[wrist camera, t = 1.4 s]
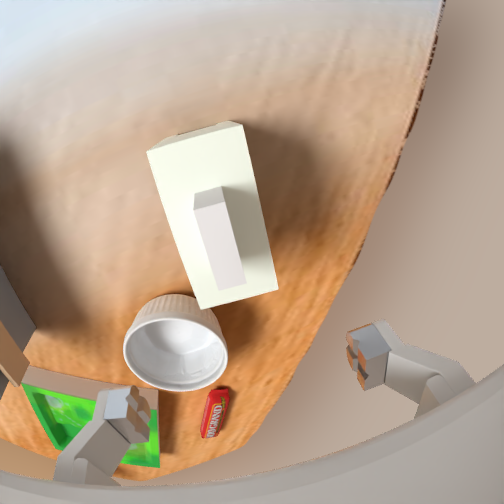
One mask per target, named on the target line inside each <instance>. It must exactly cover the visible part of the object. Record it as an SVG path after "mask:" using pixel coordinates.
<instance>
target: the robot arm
mask: <svg viewBox="0 0 504 504" xmlns="http://www.w3.org/2000/svg"><path fill="white" fill-rule="evenodd" d="M346 340H347V342H348V344H349V345H348V346H347V348H346V349H347V357H348V361H349V363H350V366H351V368H352V370H354V371H356V372H357V379H358V381H359V383H360V384H361V386H362V388H363V390H364V391H365V390H368V389H371V388H374V387H376V386H379V385H381V384H384V383H385V385H386V386H388V387H390V388H392V389H394V390H395V391H397V392H399V393H400V394H402V395H404V396H406V397H407V398H409V399H411V400H413V401H414V402H416V403H418V404H419V406H418V409H417V412H416V415H415V417H414V419H413V420H411V421H409V422H407V423H405V424H403V425H401V426H399V427H396V428H394V429H392V430H390V431H388V432H385V433H383V434H381V435H378V436H376V437H374V438H371V439H369V440H366V441H364V442H361V443H358V444H356V445H353V446H351V447H348V448H345V449H342V450H339V451H337V452H334V453H331V454H328V455H324V456H321V457H318V458H315V459H312V460H308V461H305V462H301V463H298V464H294V465H290V466H286V467H282V468H278V469H274V470H270V471H265V472H261V473H256V474H251V475H246V476H240V477H235V478H229V479H222V480H215V481H207V482H199V483H189V484H177V485H162V486H121V485H120V484H119V483H118V482H116V481H115V480H114V479H112V478H111V477H112V475H113V474H114V472H115V470H116V469H117V467H118V465H119V464H120V462H121V460H122V459H123V457H124V456H125V454H126V452H127V451H128V449H129V447H130V446H131V444H135V443H145V442H149V436H150V428H149V427H148V425H147V423H148V422H149V421H150V419H151V411H150V406H149V404H148V402H147V400H146V399H145V398H144V397H142V396H140V395H139V390H138V388H137V387H136V386H134V385H132V386H123V387H114V388H106V389H101V390H100V391H99V393H98V397H97V401H96V405H95V410H94V414H93V419H92V421H89V422H88V423H87V424H86V425H85V426H84V427H83V428H82V430H81V431H80V432H79V433H78V434H77V435H76V436H75V437H74V439H73V440H72V441H71V442H70V443H69V444H68V445H67V447H66V448H65V449H64V450H63V451H62V452H61V453H60V454H59V456H58V458H57V463H56V468H55V473H54V478H53V480H45V479H40V478H35V477H29V476H24V475H20V474H15V473H10V472H7V471H3V470H0V504H504V364H503V365H502V366H500V367H499V368H498V369H497V370H495V371H494V372H492V373H491V374H489V375H488V376H487V377H485V378H483V379H482V380H481V381H479V382H477V383H475V382H474V380H473V379H472V378H471V377H470V375H469V374H468V373H467V372H466V370H465V369H464V368H463V367H462V366H461V364H460V363H459V362H457V361H454V360H452V359H449V358H446V357H443V356H440V355H437V354H435V353H432V352H430V351H427V350H424V349H421V348H419V347H416V346H413V345H410V344H406V345H405V344H404V343H403V342H402V341H401V339H400V338H399V337H398V335H397V334H396V333H395V332H394V330H393V329H392V328H391V326H390V325H389V324H388V323H387V322H386V320H385V319H381V320H378V321H375V322H373V323H371V324H367V325H364V326H362V327H359V328H356V329H354V330H351V331H348V332H347V333H346Z"/></svg>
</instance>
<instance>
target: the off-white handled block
mask: <svg viewBox="0 0 504 504" xmlns="http://www.w3.org/2000/svg"><path fill="white" fill-rule="evenodd" d="M146 152H147V156H148V159H149V162H150V166H151V169H152V172H153V175H154V179H155V182H156V185H157V188H158V191H159V194H160V198H161V201H162V204H163V207H164V210H165V213H166V216H167V219H168V222H169V225H170V228H171V230H172V233H173V236H174V239H175V242H176V245H177V248H178V250H179V253H180V256H181V259H182V262H183V264H184V267H185V270H186V272H187V275H188V278H189V280H190V283H191V286H192V288H193V291H194V294H195V296H196V299H197V301H198V304H199V306H200V309H201V310H202V309H206V308H210V307H214V306H218V305H222V304H226V303H230V302H233V301H237V300H241V299H245V298H248V297H252V296H256V295H260V294H263V293H267V292H270V291H274V290H278V289H279V288H278V284H277V279H276V274H275V269H274V265H273V260H272V255H271V250H270V246H269V241H268V236H267V232H266V227H265V223H264V218H263V213H262V209H261V204H260V200H259V195H258V191H257V186H256V182H255V177H254V173H253V169H252V164H251V160H250V155H249V151H248V147H247V142H246V138H245V134H244V129H243V125H241V124H238V123H235V122H232V121H224V122H220V123H216V125H214V126H210V127H206V128H202V129H199V130H195V131H191V132H188V133H184V134H181V135H178V134H176V135H173V136H170V137H166V138H165V139H163V140H162V141H160V142H159V143H158V144H156V145H155V146H153V147H152V148H151V149H149V150H148V151H146Z"/></svg>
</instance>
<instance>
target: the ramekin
mask: <svg viewBox="0 0 504 504" xmlns="http://www.w3.org/2000/svg"><path fill="white" fill-rule="evenodd" d="M123 354H124V358H125V361H126V363H127V365H128V366H129V368H130V369H131V371H132V372H133V373H134V374H135V375H136V376H137V377H139V378H140V379H141V380H143V381H144V382H146V383H148V384H150V385H152V386H155V387H157V388H161V389H164V390H170V391H192V390H197V389H200V388H203V387H206V386H208V385H210V384H212V383H213V382H215V381H216V380H217V379H218V378H219V377H220V376H221V375H222V374H223V372H224V370H225V368H226V366H227V362H228V349H227V344H226V341H225V339H224V337H223V335H222V331H221V328H220V325H219V322H218V320H217V318H216V316H215V314H214V313H213V312H212V310H211V309H210V308H206V309H202V310H201V309H200V306H199V304H198V301H197V299H195V298H193V297H190V296H187V295H182V294H170V295H163V296H160V297H156V298H154V299H152V300H150V301H149V302H147V303H146V304H145V305H144V306H143V307H142V309H141V310H140V311H139V312H138V314H137V316H136V318H135V320H134V322H133V324H132V326H131V327H130V328H129V330H128V331H127V333H126V336H125V340H124V345H123Z"/></svg>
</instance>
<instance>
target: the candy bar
mask: <svg viewBox="0 0 504 504" xmlns="http://www.w3.org/2000/svg"><path fill="white" fill-rule="evenodd" d="M229 398H230V397H229V394H228V388H227V389H220V390H211V392H209V395H208V398H207V402H206V406H205V411H204V415H203V420H202V424H201V435H202V438H211V437H216V436H218V434H219V432H220V429H221V426H222V423H223V420H224V416H225V413H226V410H227V407H228V403H229Z"/></svg>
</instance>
